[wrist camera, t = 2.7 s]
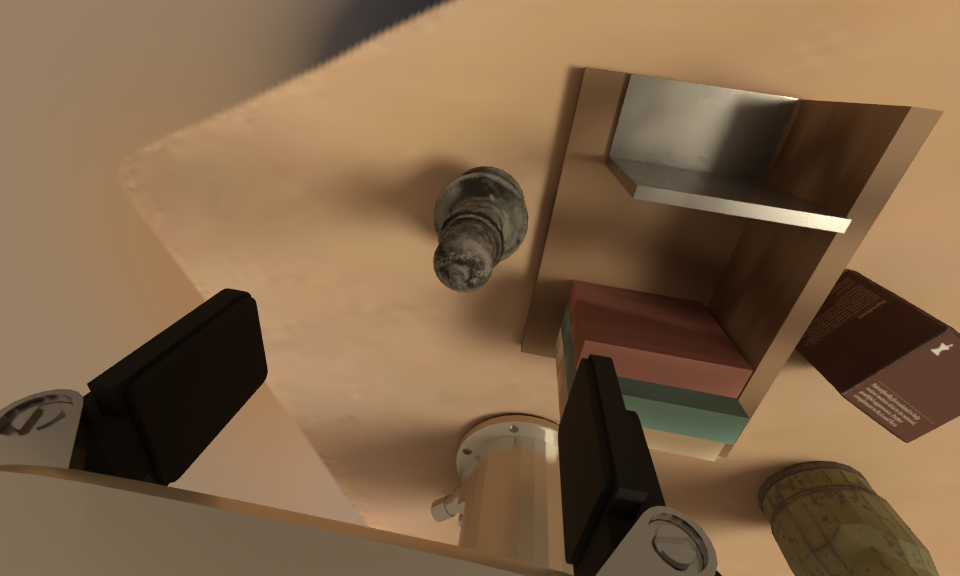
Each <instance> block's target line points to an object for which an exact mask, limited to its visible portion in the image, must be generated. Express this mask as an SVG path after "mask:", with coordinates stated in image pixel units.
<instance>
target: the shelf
mask: <svg viewBox="0 0 960 576" xmlns="http://www.w3.org/2000/svg"><path fill="white" fill-rule="evenodd" d="M629 77H630V74H627V73H621V72H614V71H607V70H600V69H594V68H587V67H585V68H584V69H583V74H582V78H581V83H580V87H579V92H578V96H577V100H576V105H575V109H574V114H573V118H572V123H571V127H570V132H569V136H568V140H567V145H566V149H565V154H564V158H563V163H562V167H561V172H560V176H559V180H558V185H557V189H556V194H555V198H554V203H553V207H552V212H551V216H550V220H549V225H548V229H547V234H546V238H545V243H544V247H543V252H542V256H541V260H540V265H539V269H538V274H537V278H536V283H535V287H534V292H533V296H532V300H531V305H530V309H529V314H528V318H527V323H526V327H525V332H524V336H523V340H522V346H521V352H525V353H530V354H535V355H541V356H546V357H552V358H556V367H557V382H558V396H559V410H560V422H561V418H562V415H563V412H564V409H565V406H566V403H567V400H568V397H569V394H570V391H571V388H572V385H573V382H574V379H575V376H576V372H577V369H578V366H579V363H580V361H581V359H582V358H587V359H588V356H589V355H590V354H594V355H600V356H605V357H611V358H612V360H613V363H614V367H615V371H616V374H617V378H618V382H619V385H620V389H621V393H622V397H623V400H624V404H625V408H626V410H631V411H635V412H636V413H637V414H638V416H639V419H640V422H641V425H642V429H643V432H644V435H645V439H646V442H647V445H648V449H653V450H658V451H663V452H668V453H673V454H679V455H684V456H689V457H694V458H699V459H704V460H710V461H715V460H716V458H717V457H718V456H722V457H727V455H728V453H729V452H730V450H731V449H732V447H733V445H734V444H735V442H736V441H737V439H738V438H739V436H740V434H741V433H742V431H743V430H744V428H745V426H746V425H747V423H748V422H749V420H750V418H751V417H752V415H753V414H754V412H755V411H756V409H757V407H758V406H759V404H760V403H761V401H762V399H763V398H764V396H765V395H766V393H767V391H768V390H769V388H770V387H771V385H772V384H773V382H774V380H775V379H776V377H777V376H778V374H779V372H780V371H781V369H782V368H783V366H784V364H785V363H786V361H787V360H788V358H789V357H790V355H791V353H792V352H793V350H794V349H795V347H796V345H797V344H798V342H799V341H800V339H801V337H802V336H803V334H804V333H805V331H806V330H807V328H808V326H809V325H810V323H811V322H812V320H813V318H814V317H815V315H816V314H817V312H818V310H819V309H820V307H821V306H822V304H823V303H824V301H825V299H826V298H827V296H828V295H829V293H830V291H831V290H832V288H833V287H834V285H835V283H836V282H837V280H838V279H839V277H840V275H841V274H842V272H843V271H844V269H845V268H846V266H847V264H848V263H849V261H850V260H851V258H852V256H853V255H854V253H855V252H856V250H857V248H858V247H859V245H860V244H861V242H862V241H863V239H864V237H865V236H866V234H867V233H868V231H869V229H870V228H871V226H872V225H873V223H874V221H875V220H876V218H877V217H878V215H879V214H880V212H881V210H882V209H883V207H884V206H885V204H886V202H887V201H888V199H889V198H890V196H891V194H892V193H893V191H894V190H895V188H896V187H897V185H898V183H899V182H900V180H901V179H902V177H903V175H904V174H905V172H906V171H907V169H908V167H909V166H910V164H911V163H912V161H913V160H914V158H915V156H916V155H917V153H918V152H919V150H920V148H921V147H922V145H923V144H924V142H925V140H926V139H927V137H928V136H929V134H930V133H931V131H932V129H933V128H934V126H935V125H936V123H937V121H938V120H939V118H940V117H941V115H942V113H943V112H944V111H938V110H931V109H924V108H917V107H909V106H893V105H878V104H862V103H846V102H831V101H815V100H802V99H798V101H797V103H796V106H795V108H794V110H793V112H792V114H791V116H790V118H789V121H788V123H787V125H786V127H785V129H784V131H783V134H782V136H781V138H780V140H779V142H778V144H777V146H776V149H775V151H774V153H773V155H772V157H771V159H770V162H769V164H768V166H767V168H766V170H765V172H764V174H763V177H762V179H761V181H764V182H766V183H768V184H771V185H773V186H775V187H778V188H780V189H782V190H784V191H787V192H789V193H791V194H794V195H796V196H798V197H801V198H803V199H805V200H807V201H810V202H812V203H814V204H817V205H819V206H821V207H824V208H826V209H828V210H831V211H833V212H835V213H837V214H840V215H842V216H844V217H847V218H849V219H851V220H852V221H851V222H850V224H849V226H848V227H847V229H846V231H845V232H844V233H840V232H833V231H827V230H821V229H815V228H809V227H803V226H797V225H791V224H785V223H779V222H772V221H766V220H760V219H754V218H748V217H742V216H736V215H730V214H724V213H717V212H711V211H705V210H699V209H693V208H687V207H681V206H675V205H669V204H662V203H656V202H650V201H644V200H638V199H633V198H632V197H631V195H630V194H629V193H628V192H627V191H626V190H625V188H624V187H623V186H622V185H621V184H620V182H619V181H618V180H617V179H616V178H615V176H614V175H613V174H612V173H611V172H610V170H609V169H608V168H607V167H606V166H605V164H606V161H607V157H608V154H609V150H610V146H611V143H612V139H613V135H614V132H615V128H616V124H617V121H618V117H619V114H620V110H621V106H622V103H623V99H624V95H625V92H626V88H627V85H628V81H629Z"/></svg>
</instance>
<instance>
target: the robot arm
mask: <svg viewBox="0 0 960 576" xmlns="http://www.w3.org/2000/svg"><path fill="white" fill-rule="evenodd" d="M267 372H268V369H267V363H266V357H265V351H264V345H263V340H262V334H261V328H260V322H259V316H258V310H257V304H256V301H255V299H253V298H252V297H251V295H250V294H249V293H248V292H245V291H240V290H234V289H224V290H222V291H220V292H219V293H217V294H216V295H214V296H213V297H212V298H210V299H209V300H207V301H206V302H204V303H203V304H201V305H200V306H199V307H197V308H196V309H194V310H193V311H191V312H190V313H188V314H187V315H186V316H184V317H183V318H181V319H180V320H178V321H177V322H176V323H174V324H173V325H171V326H170V327H168V328H167V329H165V330H164V331H163V332H161V333H160V334H158V335H157V336H155V337H154V338H152V339H151V340H150V341H148V342H147V343H145V344H144V345H142V346H141V347H140V348H138V349H137V350H135V351H134V352H132V353H131V354H129V355H128V356H126V357H125V358H124V359H122V360H121V361H119V362H118V363H116V364H115V365H113V366H112V367H111V368H109V369H108V370H106V371H105V372H103V373H102V374H101V375H99V376H98V377H96V378H95V379H93V380H92V381H91V382H89V383H88V384H87V385H88V387H89V389H90V391H91V392H89V393H88V394H87V395H85V396H84V397H83V396H82V395H80V393H78V392H76V391H73V390H69V389H68V390H67V389H57V390H50V391H44V392H40V393H37V394H33V395H30V396H28V397H25V398H23V399H20V400H18V401H15V402H13V403H12V404H10V405H8V406H7V407H5V408H3V409H1V410H0V576H722V575H721V574H720V573H719V572H718V571H716V569H717V557H716V552H715V549H714V547H713V545H712V543H711V541H710V539H709V538H708V536H707V535H706V533H705V532H704V531H703V529H702V528H701V527H700V526H699V525H698V524H697V523H696V522H695V521H693V520H692V519H691V518H690V517H688V516H687V515H685V514H684V513H682V512H680V511H678V510H675V509H673V508H670V507H666V505H665V502H664V498H663V495H662V492H661V489H660V485H659V482H658V479H657V475H656V472H655V469H654V465H653V462H652V459H651V455H650V452H649V449H648V445H647V442H646V439H645V435H644V432H643V429H642V425H641V422H640V419H639V416H638V414H637V413H636V412H635V411H631V410H626V408H625V404H624V400H623V397H622V393H621V389H620V385H619V382H618V378H617V374H616V371H615V367H614V363H613V360H612V358H611V357H605V356H600V355H594V354H590V355H589V356H588V359H587V358H582V359H581V361H580V363H579V366H578V369H577V372H576V376H575V379H574V382H573V385H572V388H571V391H570V394H569V397H568V400H567V403H566V406H565V409H564V412H563V415H562V418H561V422H560V425H557V424H555V423H552V422H550V421H547V420H544V419H541V418H536V417H532V416H522V415H510V416H501V417H496V418H492V419H489V420H486V421H484V422H481V423H480V424H478V425H476V426H475V427H473V428H472V429H471V430H470V431H469V432H468V433H467V434H466V435H465V436H464V437H463V439H462V441H461V442H460V445H459V448H458V452H457V458H456V467H457V472H458V475H459V477H460V479H461V481H462V482H461V486H460V487H458V488H456V489H455V491H454V493H453V495H447V496H445V497H443V498H440V499H438V500H436V501H434V502H433V503H432V506H431V513H432V516H433V518H434V519H435V520H436V521H438V522H441V521H443V520H446V519H448V518H451V517H453V516H455V515H456V514H457V513H460V515H459V525H460V526H461V530H460V536H459V542H458V546H455V545H450V544H445V543H441V542H436V541H431V540H426V539H422V538H417V537H412V536H408V535H403V534H398V533H393V532H389V531H384V530H379V529H374V528H370V527H365V526H360V525H355V524H350V523H345V522H341V521H336V520H331V519H326V518H321V517H316V516H311V515H307V514H301V513H297V512H292V511H287V510H282V509H277V508H272V507H268V506H263V505H257V504H253V503H248V502H243V501H238V500H233V499H228V498H223V497H218V496H213V495H208V494H203V493H198V492H193V491H188V490H183V489H178V488H172V487H168V484H169V483H171V482H175V481H176V480H178V479H179V478H180V477H181V476H182V475H183V474H184V472H185V471H186V470H187V469H188V468H189V467H190V466H191V464H192V463H193V462H194V461H195V460H196V459H197V458H198V456H199V455H200V454H201V453H202V452H203V451H204V450H205V449H206V447H207V446H208V445H209V444H210V443H211V442H212V441H213V439H214V438H215V437H216V436H217V435H218V434H219V432H220V431H221V430H222V429H223V428H224V427H225V426H226V424H227V423H228V422H229V421H230V420H231V419H232V418H233V416H235V414H236V413H237V412H238V411H239V410H240V408H241V407H242V406H243V405H244V404H245V403H246V402H247V401H248V399H249V398H250V397H251V396H252V395H253V394H254V393H255V392H256V390H257V389H258V388H259V387H260V386H261V385H262V384H263V382H264V381H265V379H266V377H267Z"/></svg>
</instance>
